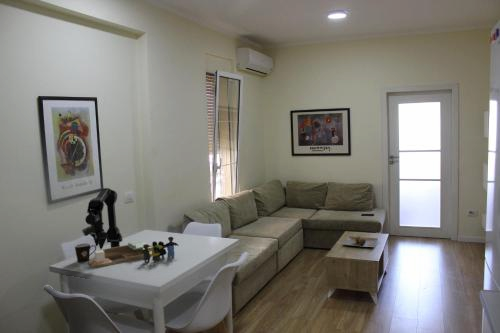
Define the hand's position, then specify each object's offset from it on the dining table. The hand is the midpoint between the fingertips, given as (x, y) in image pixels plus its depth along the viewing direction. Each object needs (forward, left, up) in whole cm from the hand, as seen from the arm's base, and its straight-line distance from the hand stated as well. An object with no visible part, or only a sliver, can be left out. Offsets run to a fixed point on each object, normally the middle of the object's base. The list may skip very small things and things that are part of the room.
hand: (99, 247), depth 244 cm
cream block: (0, 0, -8) cm, 8 cm away
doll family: (+16, +31, -11) cm, 36 cm away
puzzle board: (0, +12, -10) cm, 16 cm away
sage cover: (0, +24, -4) cm, 25 cm away
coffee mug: (-13, -5, -11) cm, 18 cm away
